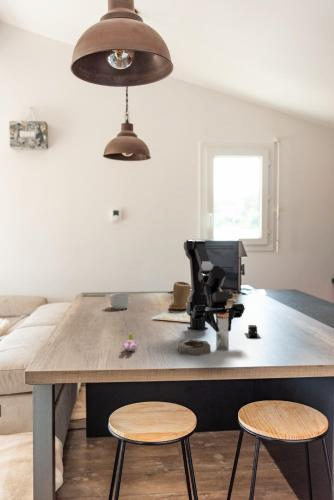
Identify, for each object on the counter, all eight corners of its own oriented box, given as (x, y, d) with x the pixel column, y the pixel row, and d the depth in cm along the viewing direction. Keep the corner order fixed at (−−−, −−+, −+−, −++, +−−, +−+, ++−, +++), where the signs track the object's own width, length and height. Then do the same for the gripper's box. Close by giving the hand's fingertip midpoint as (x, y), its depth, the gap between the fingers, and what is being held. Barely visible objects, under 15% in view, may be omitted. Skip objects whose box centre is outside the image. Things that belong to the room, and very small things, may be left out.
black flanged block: (241, 333, 179) (241, 322, 179) (259, 333, 179) (259, 322, 179) (246, 341, 167) (246, 329, 167) (265, 341, 167) (265, 329, 167)
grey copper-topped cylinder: (213, 348, 154) (213, 313, 154) (222, 346, 157) (222, 312, 157) (222, 351, 151) (222, 315, 150) (231, 348, 153) (231, 314, 153)
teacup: (132, 309, 236) (132, 295, 235) (112, 310, 232) (112, 296, 231) (125, 305, 249) (124, 291, 248) (106, 306, 245) (106, 292, 244)
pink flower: (123, 348, 160) (118, 353, 145) (123, 332, 160) (119, 335, 145) (140, 348, 160) (137, 353, 145) (140, 332, 160) (137, 335, 145)
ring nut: (170, 350, 152) (170, 343, 152) (197, 344, 159) (197, 338, 159) (189, 357, 143) (189, 349, 143) (216, 351, 150) (216, 344, 150)
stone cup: (189, 311, 229) (189, 283, 229) (167, 310, 231) (167, 282, 231) (192, 306, 244) (192, 280, 244) (171, 306, 246) (171, 279, 246)
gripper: (194, 283, 155) (202, 319, 145) (243, 281, 159) (254, 317, 148) (188, 301, 163) (196, 337, 153) (235, 299, 167) (246, 334, 156)
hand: (223, 331), depth 152 cm, fingers closed on grey copper-topped cylinder, 4 cm apart
